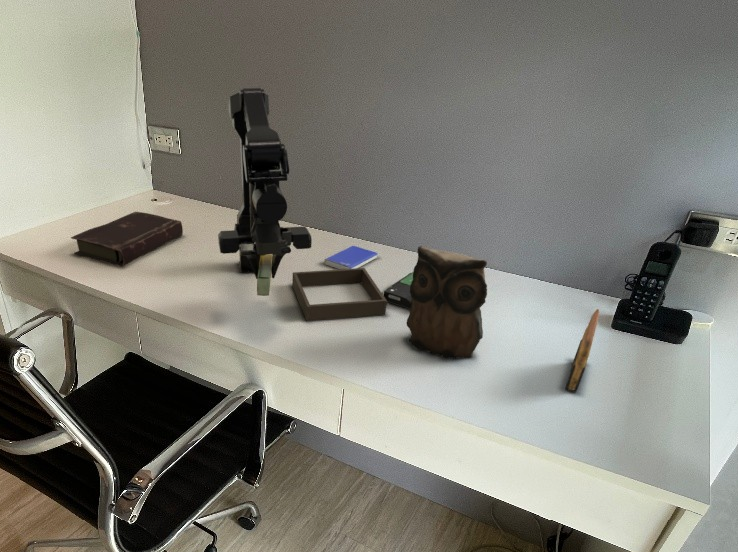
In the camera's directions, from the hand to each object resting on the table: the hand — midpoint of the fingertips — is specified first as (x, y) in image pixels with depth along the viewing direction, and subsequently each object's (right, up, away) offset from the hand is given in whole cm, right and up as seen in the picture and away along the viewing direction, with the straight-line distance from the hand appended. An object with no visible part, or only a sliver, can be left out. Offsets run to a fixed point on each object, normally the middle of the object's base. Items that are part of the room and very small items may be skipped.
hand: (264, 278), depth 122 cm
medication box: (0, -1, +1) cm, 1 cm away
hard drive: (+22, +9, +27) cm, 36 cm away
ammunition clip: (+57, -22, -17) cm, 63 cm away
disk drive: (+35, -2, +10) cm, 37 cm away
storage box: (+16, -3, +9) cm, 19 cm away
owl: (+36, -15, -7) cm, 40 cm away
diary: (-38, +16, +36) cm, 55 cm away
